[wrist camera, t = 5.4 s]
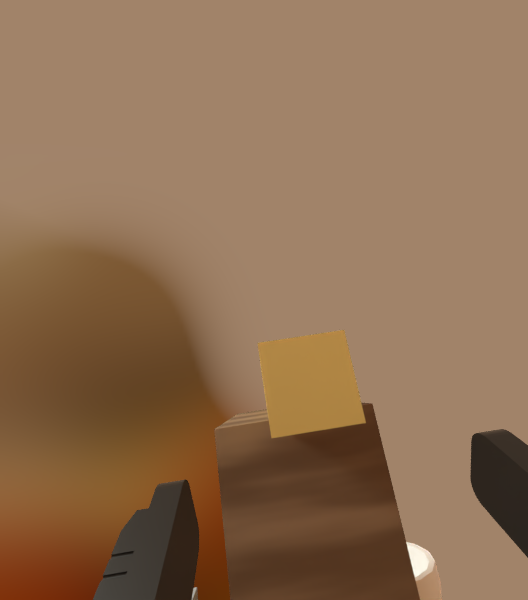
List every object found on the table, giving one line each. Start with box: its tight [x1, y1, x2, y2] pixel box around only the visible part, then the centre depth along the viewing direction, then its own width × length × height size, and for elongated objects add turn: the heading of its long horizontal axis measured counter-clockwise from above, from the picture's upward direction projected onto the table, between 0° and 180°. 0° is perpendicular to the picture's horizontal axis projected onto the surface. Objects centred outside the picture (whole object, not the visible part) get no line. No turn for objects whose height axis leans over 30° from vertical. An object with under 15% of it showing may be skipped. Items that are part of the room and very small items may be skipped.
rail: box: [258, 330, 366, 438], centre depth 24 cm, size 26×4×4 cm, turn 0°
